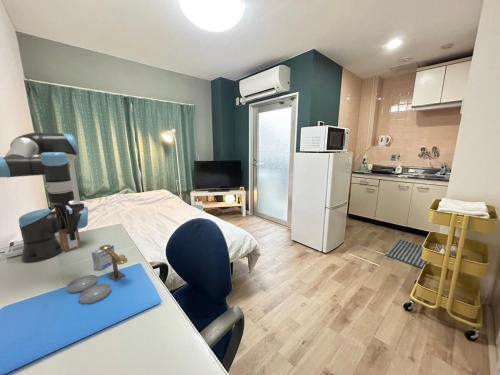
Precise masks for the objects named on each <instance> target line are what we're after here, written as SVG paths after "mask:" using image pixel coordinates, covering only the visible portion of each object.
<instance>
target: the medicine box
mask: <svg viewBox="0 0 500 375" xmlns="http://www.w3.org/2000/svg"><path fill="white" fill-rule="evenodd" d="M110 245H111V248H110V249H111V250H112V251H113V252H115V253H116V251H115V246H114V244H110ZM91 257H92V262H93V268H94V270H101V271H102V270H105V269H106V268H108V267H109V266H111V265H113V264H112V257H111V256H110V255H109V254H108V253H107V252H106V251H105V250H100V247H99V248H97V249H96V250H94V251H92V252H91Z"/></svg>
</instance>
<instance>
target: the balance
mask: <svg viewBox="0 0 500 375" xmlns="http://www.w3.org/2000/svg"><path fill="white" fill-rule="evenodd" d="M111 245H112V244H103V245H102V246H100V247H99V248H100V250H105V251H106V252H107V253H108V254H109V255H110V256H111V257H112V264H111V265H112V270H113V272H111V273H109V274H107V278H109V279H110V280H112V281H114V282H117V281H119V280H121V279H123V278H125V277H126V274H125V273H123V272H121V271H120V270H119V268H118V265H119V266H120V265H123V264H126V263H127V262H128V258H127V257H126V255H124V254H123V253H122V254H119V255H118V254H117V253H116V251H115V252H113V251H112V250H111V249H110V248H111Z"/></svg>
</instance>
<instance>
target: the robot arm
mask: <svg viewBox="0 0 500 375" xmlns="http://www.w3.org/2000/svg"><path fill="white" fill-rule="evenodd" d="M9 145H10V149H9V150H8V152H7V153H6V154H5V156H4V157H2V156H0V178H16V177H17V178H18V177H19V178H20V177H29V176H30V177H31V176H33V177H34V176H44V179H45V184H44V188H46V189H47V192H48V194H47V196H48V202H49V203H51V204H53V208H54V210H53V211H52V210H51V209H50V208H43V209H41V208H40V209H36V210H33V211H29V212H27V213H25V214H23V215H21V216H20V217H18V227H19V228H20V229H19V230H20V233H21V237H22V241H23V247H22V252H21V261H22V262H24V263H36V262H37V263H38V262H42V261H44V260H48V259H51V258H54V257H56V256H58V255H59V254H61V253H62V252H63V251H64V250H62V249H61V244H60V240H58V239H57V237H56V234H58V231H60V230H64V229H67V233H65V234H67V239H68V244H69V248H73V247H76V246H78V243H77V238H76V231H78V232H79V229H83V228H87V226H88V221H89V211H88V210H89V206H85V203H84V202H82V201H81V199H80V193H79V187H78V179H77V174H76V168H75V159H77V155H79V154H80V152H79V149H78V148H79V147H78V145H77V142H76V139H75V137H74V135H73V134H71V133H63V132H62V133H60V132H59V133H57V132H29V133H26V134H22V135H19V136H17V137H15V138H14V139H12V140H11V142H10V144H9Z"/></svg>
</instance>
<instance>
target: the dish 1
mask: <svg viewBox="0 0 500 375" xmlns="http://www.w3.org/2000/svg"><path fill="white" fill-rule="evenodd" d="M98 281H99V279H98V276H97V275H95V274H86V275H83V276H79V277H77V278H75V279H73V280H72V281H70V282H69V283H67V285H66V287H65V289H66V292H67V293H68V294H81V293H82V292H83V291H84V290H86V289H87V288H89V287H91V286H94V285H97V284H98V283H99V282H98Z"/></svg>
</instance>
